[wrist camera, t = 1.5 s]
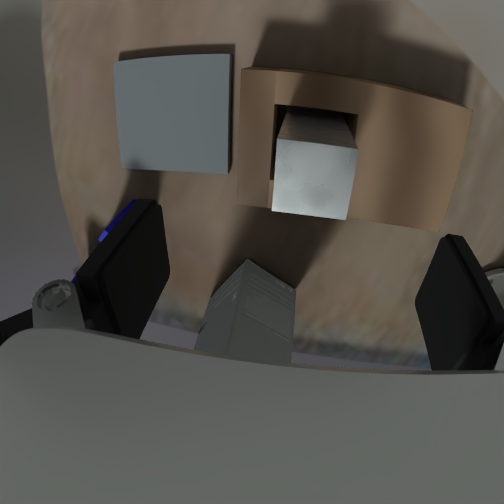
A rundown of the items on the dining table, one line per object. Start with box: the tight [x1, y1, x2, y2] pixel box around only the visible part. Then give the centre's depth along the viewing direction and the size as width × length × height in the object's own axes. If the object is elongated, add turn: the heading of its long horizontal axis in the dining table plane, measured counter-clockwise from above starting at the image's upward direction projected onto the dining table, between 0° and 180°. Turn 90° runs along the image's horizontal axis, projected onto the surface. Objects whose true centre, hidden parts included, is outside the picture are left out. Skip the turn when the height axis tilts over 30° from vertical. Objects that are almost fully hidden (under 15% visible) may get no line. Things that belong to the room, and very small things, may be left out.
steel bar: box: [272, 106, 359, 220], centre depth 20 cm, size 4×4×10 cm
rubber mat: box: [113, 54, 232, 175], centre depth 24 cm, size 10×10×1 cm
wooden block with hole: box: [238, 67, 473, 232], centre depth 22 cm, size 16×10×4 cm, turn 88°
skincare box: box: [194, 259, 296, 363], centre depth 29 cm, size 8×7×16 cm
